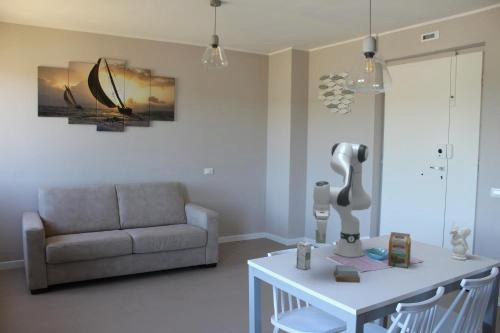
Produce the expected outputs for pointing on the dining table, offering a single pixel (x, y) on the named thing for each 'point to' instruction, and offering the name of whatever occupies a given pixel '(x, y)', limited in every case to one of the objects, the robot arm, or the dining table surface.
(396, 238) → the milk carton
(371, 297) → the dining table surface
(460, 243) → the white squirrel figurine
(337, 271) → the grey top slab
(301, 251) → the syrup box
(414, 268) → the dining table surface
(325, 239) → the sage block
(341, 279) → the walnut base slab
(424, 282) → the dining table surface
